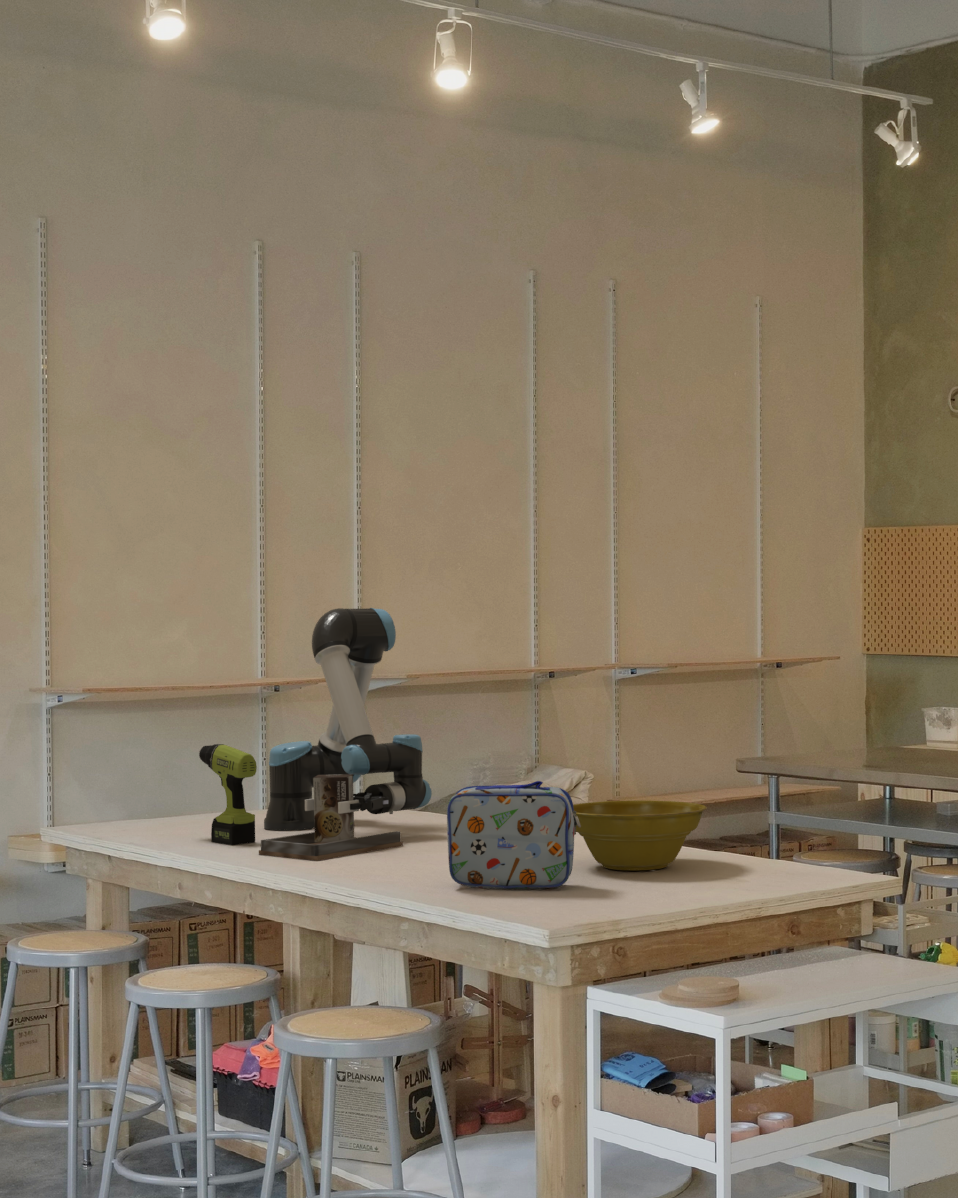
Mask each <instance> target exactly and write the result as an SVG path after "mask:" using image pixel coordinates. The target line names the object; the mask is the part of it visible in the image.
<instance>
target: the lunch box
mask: <svg viewBox="0 0 958 1198" xmlns="http://www.w3.org/2000/svg"><path fill="white" fill-rule="evenodd" d="M543 783H544V782H543V781H541V780H537V781H534V782H531V783H526V784H510V785H508V784H506V785H505V784H501V785H499V784H498V785H495V784H494V785H471V786H466V787H463V788H460V789H459V790H458V791H457V792H456V793H455V794H454V795H453V796H451V798H450V799H449V802H448V803H447V806H446V825H447V829H446V831H447V852H448V856H447V857H448V870H449V875H450V877H451V879H452V880H453V881H454V883H457V884H458V885H462V886H464V887H469V888H478V889H479V888H480V889H496V890H497V889H498V890H503V889H504V890H509V889H511V890H513V889H516V890H517V889H518V890H519V889H520V890H521V889H522V890H529V889H531V890H532V889H533V890H535V889H547V888H551V889H552V888H558V887H561V886H564V884H565V883H566V882H567V881H568V880H569V877H570V876H571V874H572V871H573V866H574V851H575V835H577V832H576V825H578V827H581V825H580V822H579V819H578V817H577V815H576V811H574V808H573V805H574V803H573V799H572V797H571V795H570V793H568V791H567V790H565V789H563V788H561V787H557V786H556V787H553V786H542V784H543Z"/></svg>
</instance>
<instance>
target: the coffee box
mask: <svg viewBox="0 0 958 1198" xmlns="http://www.w3.org/2000/svg"><path fill="white" fill-rule="evenodd" d="M313 786H314V787H313V799H314V828H313V829H314V832H315V842H334V841H340V840H346V839H353V838H354V837H355V813H354V812H348V813H341V814H339V813H338V802H344V801H351V800H354V799H353V797H354V796H353V794H354V783H353V774H340V775H317V776H316V777H314V778H313Z"/></svg>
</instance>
